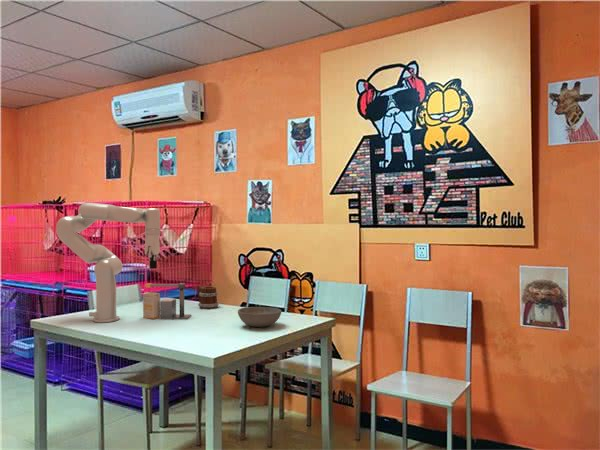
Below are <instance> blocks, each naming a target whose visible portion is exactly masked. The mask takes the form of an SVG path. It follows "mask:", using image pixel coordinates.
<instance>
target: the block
mask: <svg viewBox="0 0 600 450" xmlns="http://www.w3.org/2000/svg"><path fill="white" fill-rule="evenodd" d="M176 314H177V299H176V298H164V299H162V300H160V318H159V320H173V319H172V317H174V316H175V315H176Z"/></svg>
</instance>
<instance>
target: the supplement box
mask: <svg viewBox="0 0 600 450" xmlns="http://www.w3.org/2000/svg"><path fill="white" fill-rule="evenodd" d="M160 301H161V293H160V292H154V291H153V292H151V291H150V292H149V291H147V292H144V293H142V306H143V307H142V312H143V313H142V316H143V319H152V320H156V319H160Z"/></svg>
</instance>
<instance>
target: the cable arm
mask: <svg viewBox="0 0 600 450" xmlns="http://www.w3.org/2000/svg"><path fill="white" fill-rule="evenodd" d="M144 285H145V288H153V287H154V288H160V287H161V288H166V287H167V288H169V287H170V288H172V287H173V288H184V289H185V288H186V283H185V282H180V283H149V282H148V283H145V284H144Z"/></svg>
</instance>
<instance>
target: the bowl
mask: <svg viewBox="0 0 600 450" xmlns="http://www.w3.org/2000/svg"><path fill="white" fill-rule="evenodd" d="M282 313H283V311H282V309H280V308H277V307H268V306H245V307H242V308H241V307H240V308H239V309H238V310H237V314H238V317H239V319H240V321H241V322H243V323H244V324H245V325H247V326H249V327H253V328H254V327H255V328H265V327H269V326H271V325H272V326H273V324H275V323H276V322H277V321H278V320H279V319H280V317H281V315H282Z"/></svg>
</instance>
